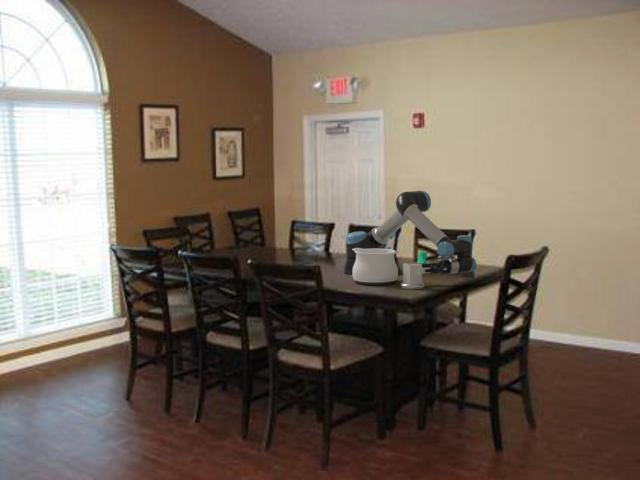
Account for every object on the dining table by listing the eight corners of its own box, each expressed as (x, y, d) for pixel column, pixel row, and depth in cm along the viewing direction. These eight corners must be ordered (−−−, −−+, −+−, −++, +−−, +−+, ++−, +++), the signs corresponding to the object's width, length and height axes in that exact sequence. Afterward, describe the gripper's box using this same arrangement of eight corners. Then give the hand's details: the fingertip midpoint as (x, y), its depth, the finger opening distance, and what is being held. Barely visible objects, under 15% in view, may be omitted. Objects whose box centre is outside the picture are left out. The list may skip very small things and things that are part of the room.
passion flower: (446, 271, 456) (437, 256, 451) (438, 265, 465) (429, 251, 460) (460, 260, 457) (452, 246, 452) (451, 255, 466) (443, 241, 462)
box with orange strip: (409, 284, 363) (409, 264, 362) (403, 282, 370) (403, 262, 369) (422, 283, 366) (422, 263, 365) (415, 281, 372) (415, 261, 371)
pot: (410, 281, 385) (410, 249, 383) (382, 288, 367) (382, 254, 365) (368, 276, 404) (368, 245, 402) (340, 282, 386) (339, 250, 384)
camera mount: (436, 269, 428) (436, 252, 427) (424, 270, 426) (424, 252, 425) (428, 266, 440) (428, 250, 438) (416, 267, 438) (416, 250, 437)
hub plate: (407, 290, 360) (407, 274, 359) (396, 286, 371) (396, 271, 370) (428, 288, 365) (428, 272, 364) (416, 284, 376) (416, 269, 375)
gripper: (461, 277, 363) (424, 280, 355) (435, 270, 386) (400, 273, 379) (461, 262, 362) (424, 265, 355) (435, 256, 385) (400, 259, 378)
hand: (412, 269), depth 367 cm, fingers open, 13 cm apart
